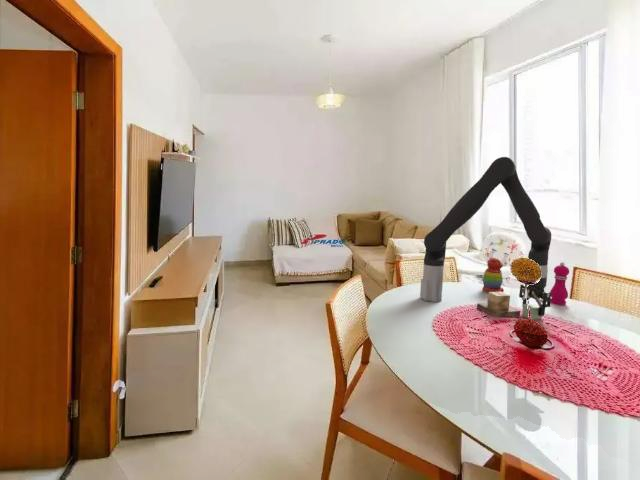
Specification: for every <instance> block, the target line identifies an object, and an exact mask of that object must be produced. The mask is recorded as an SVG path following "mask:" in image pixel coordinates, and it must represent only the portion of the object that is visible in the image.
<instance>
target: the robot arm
mask: <svg viewBox="0 0 640 480" xmlns="http://www.w3.org/2000/svg"><path fill="white" fill-rule="evenodd" d="M516 169H517V167H516V164H515V162H514V160H513V159H512V158H510V157H508V156H501V157H497V158H496V159H495V160H493V162H492V163H491V164H490V165H489V166H488V168H487V169H486V171H485V172H484V173H483V174H482V176H481V177H480V178H479V179H478V180H477V182H475V183H474V184H473V185H472V186H471V187H470V188H469V189H468V190H467V191H466V192H465V194H463V196H462V197H460V199H458V201H457V202H456V203H454V205H453V206H452V208H451V209H450V210H449V211H448V212H447V214H446V215H445V217H444V218H443V219H442V221H441V222H440V223H439V224H437V225H436V227H433V229H432V230H431V231H430V232H428V233H426V235H425V236H424V240H423V244H424V248H425V254H424V259H423V272H422V278H421V279H420V289H419V291H420V293H419V297H420V299H422V300H423V301H425V302H432V303H436V302H437V303H438V302H439V303H440V302H441V301H442V299H443V298H442V297H443V286H444V285H443V283H444V271H445V270H444V267H445V259H446V251H447V241H448V240H449V239H450V238H451V236H453V235H454V233H455V232H456V231H457V230H458V229H460V228H462V226H464V225H465V224H466V223H467V222H468V221H469V220H471V219H472V218H473V217H474V215H475V214H476V213H477V212H478V211H480V209H481V208H482V207H483V205H484V204H485V202H486V201H487V200H488V198H489V196H490V195H491V194H492V192H493V191H494V190H495V189H496V188H497V187H498V186H499V185H500V184H501V186H502V187H503V189H504V190H505V192H506V194H507V195H508V197H509V199H510V201H511V203H512V206H513V208H514V211H515V213H516V215H517V216H518V218H519V220H520V221H521V223H522V224H523V228H524V231H525V233H526V235H527V238H528V239H529V241H530V242H531V243H530V249H529V252H528V254H527V259H528V258H529V259H532V260H534V261H535V262H536V263H538V264H539V266H540V267H541V271H542V277H541V279H540V281H539V282H538V283H536V284H534V285H529V286H528V287H527V300H528V304H530V302H529V300H530V299H533V300H534V301H535V302H536V303H537V305H538V306H539V309H538V316H542V317H544V316H545V313H546V312H545V311H546V308H550V307H551V304H552V303H551V298H552V297H551V293H550V291H549V292H547V291H545V288H546V287H547V281H548V271H549V270H548V264H549V262H548V261H549V252H550V246H551V242H552V232H551V230H550V229H549V228H548V227H547V226H545V225H544V223H543V222H542V219H541V216H540V213H539V211H538V209H537V206H536V205H535V203H534V201H532V199H531V198H530V196H529V194H528V193H527V192H526V190H525V188H524V186H523V184H522V183H521V181H520V178H519V175H518V172H517V170H516ZM524 284H525V283H524ZM524 284H520V288H519V294H518V298H521V300H522V308H523V304H526V298H525V285H524Z"/></svg>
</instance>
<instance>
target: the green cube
mask: <svg viewBox="0 0 640 480" xmlns="http://www.w3.org/2000/svg"><path fill="white" fill-rule="evenodd" d="M522 305H523V307H522V314H521V315H522V316H524V317H525V318H528V309H527V304H523V303H522ZM529 308H530V315H531V318H532V319H531V320H542V319H543V316H538V309H539V305H538V304H535V303H529ZM528 319H529V318H528Z"/></svg>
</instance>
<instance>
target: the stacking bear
mask: <svg viewBox="0 0 640 480" xmlns="http://www.w3.org/2000/svg"><path fill="white" fill-rule="evenodd" d="M486 264H487V268H486V269H485V270H484V274H483V276H482V282H483V283H482V284H483V287H482V291H483V292H486V293H489V292H504V288H503V287H502V285H503V279H504V278H503V273H502V270H501V269H502V268H503V266H504V264H503V263H502V262H501V260H500V259H498V258H496V257H492V258H489V259H488V261H487V263H486Z"/></svg>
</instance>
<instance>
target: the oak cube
mask: <svg viewBox="0 0 640 480" xmlns="http://www.w3.org/2000/svg"><path fill="white" fill-rule="evenodd" d="M487 295H488V296H487V303H488V306H490V307H492V308H494V309H496V310H498V309H509V306H510V301H511V295H509V294H507V293H505V292H504V291H502V292H488V294H487Z"/></svg>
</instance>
